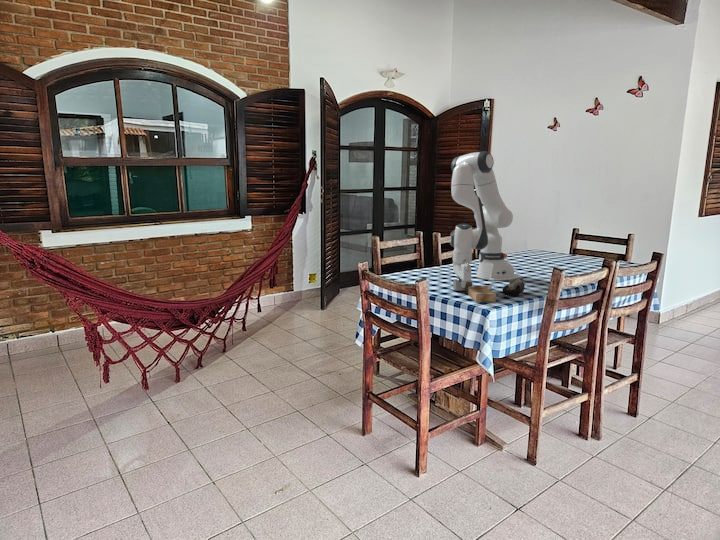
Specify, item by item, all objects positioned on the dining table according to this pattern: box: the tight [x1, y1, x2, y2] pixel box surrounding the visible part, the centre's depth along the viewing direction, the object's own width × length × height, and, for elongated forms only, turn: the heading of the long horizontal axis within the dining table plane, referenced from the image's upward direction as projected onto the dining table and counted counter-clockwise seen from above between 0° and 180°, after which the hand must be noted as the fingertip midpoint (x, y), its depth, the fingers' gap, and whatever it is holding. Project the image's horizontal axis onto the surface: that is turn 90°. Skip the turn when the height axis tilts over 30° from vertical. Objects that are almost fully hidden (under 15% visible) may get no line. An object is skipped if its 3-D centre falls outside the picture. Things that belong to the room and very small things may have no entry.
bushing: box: [483, 284, 493, 292], centre depth 242 cm, size 4×4×3 cm
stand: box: [467, 285, 497, 303], centre depth 230 cm, size 9×14×4 cm, turn 3°
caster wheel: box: [502, 277, 525, 297], centre depth 238 cm, size 7×11×10 cm
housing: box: [452, 277, 473, 292], centre depth 243 cm, size 8×5×5 cm, turn 93°
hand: (461, 285), depth 243 cm, fingers closed on housing, 5 cm apart
